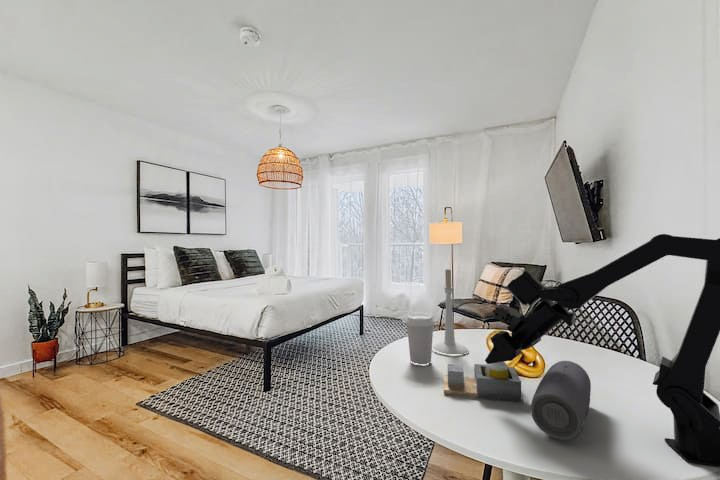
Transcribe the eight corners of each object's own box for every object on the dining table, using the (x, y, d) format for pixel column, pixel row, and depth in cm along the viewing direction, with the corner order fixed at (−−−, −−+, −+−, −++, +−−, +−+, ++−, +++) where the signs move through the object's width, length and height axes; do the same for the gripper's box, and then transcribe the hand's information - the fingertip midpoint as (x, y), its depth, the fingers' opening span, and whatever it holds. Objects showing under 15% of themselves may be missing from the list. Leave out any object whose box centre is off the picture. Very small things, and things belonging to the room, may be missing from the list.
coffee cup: (401, 365, 102) (400, 318, 102) (411, 356, 110) (410, 312, 111) (431, 370, 97) (430, 320, 98) (438, 360, 106) (437, 315, 106)
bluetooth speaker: (548, 394, 80) (546, 354, 81) (593, 405, 74) (592, 362, 75) (527, 436, 63) (526, 385, 63) (585, 455, 57) (583, 398, 57)
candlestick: (470, 357, 108) (468, 269, 109) (431, 355, 111) (429, 269, 112) (466, 346, 120) (464, 267, 121) (432, 344, 123) (430, 267, 124)
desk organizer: (521, 403, 76) (521, 381, 76) (443, 394, 81) (443, 373, 81) (514, 385, 85) (513, 366, 85) (445, 379, 90) (444, 360, 91)
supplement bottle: (513, 395, 80) (512, 356, 80) (494, 398, 79) (493, 358, 79) (500, 386, 85) (499, 349, 85) (481, 388, 84) (480, 351, 84)
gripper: (526, 290, 86) (487, 325, 93) (498, 299, 73) (455, 338, 80) (561, 324, 80) (516, 359, 87) (537, 340, 67) (487, 379, 74)
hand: (494, 357), depth 82 cm, fingers open, 9 cm apart
